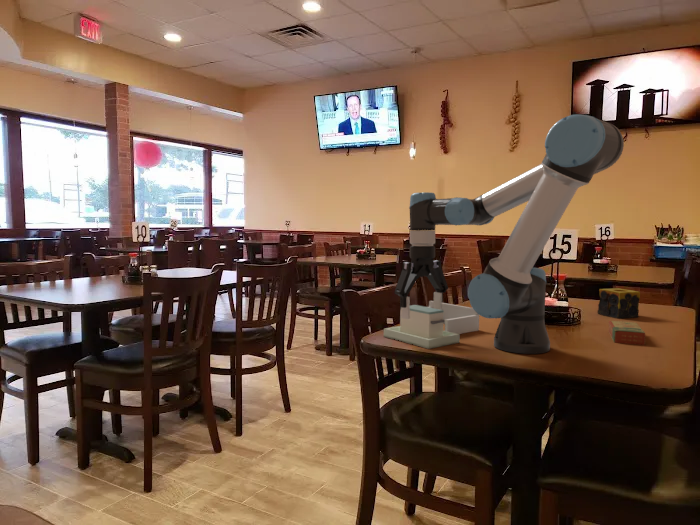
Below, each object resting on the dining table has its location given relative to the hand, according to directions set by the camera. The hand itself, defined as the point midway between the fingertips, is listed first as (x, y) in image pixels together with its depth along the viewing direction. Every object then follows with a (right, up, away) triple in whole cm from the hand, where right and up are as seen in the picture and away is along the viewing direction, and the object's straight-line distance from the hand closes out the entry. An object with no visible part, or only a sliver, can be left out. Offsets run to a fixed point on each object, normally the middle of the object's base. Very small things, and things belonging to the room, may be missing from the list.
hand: (422, 316), depth 156 cm
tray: (0, -7, +1) cm, 7 cm away
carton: (+64, -8, +5) cm, 64 cm away
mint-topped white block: (0, -7, +1) cm, 7 cm away
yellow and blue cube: (+81, -5, +43) cm, 92 cm away
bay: (+8, -6, +19) cm, 21 cm away
